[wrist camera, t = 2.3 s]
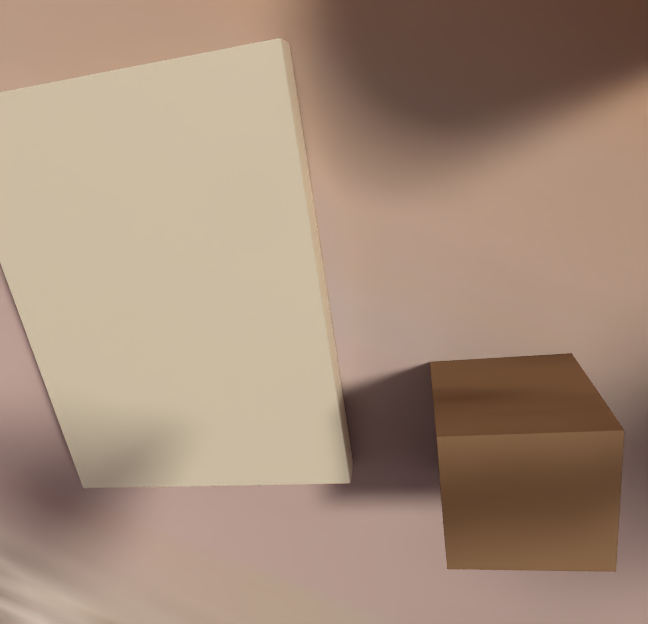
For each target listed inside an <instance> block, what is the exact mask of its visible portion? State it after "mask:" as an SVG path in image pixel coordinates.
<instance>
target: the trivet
mask: <svg viewBox="0 0 648 624" xmlns="http://www.w3.org/2000/svg"><path fill="white" fill-rule="evenodd" d="M0 263H1V266H2V269H3V272H4V274H5V277H6V280H7V282H8V285H9V288H10V291H11V293H12V296H13V299H14V301H15V304H16V307H17V310H18V312H19V315H20V318H21V320H22V323H23V326H24V329H25V331H26V334H27V337H28V339H29V342H30V345H31V348H32V350H33V353H34V356H35V359H36V361H37V364H38V367H39V369H40V372H41V375H42V378H43V380H44V383H45V386H46V388H47V391H48V394H49V397H50V399H51V402H52V405H53V407H54V410H55V413H56V416H57V418H58V421H59V424H60V426H61V429H62V432H63V435H64V437H65V440H66V443H67V446H68V448H69V451H70V454H71V456H72V459H73V462H74V465H75V467H76V470H77V473H78V475H79V478H80V481H81V484H82V486H83V488H124V487H178V486H232V485H285V484H339V483H350V482H351V476H352V470H353V459H352V452H351V446H350V439H349V433H348V426H347V419H346V413H345V406H344V400H343V393H342V387H341V380H340V373H339V367H338V360H337V354H336V347H335V340H334V334H333V327H332V321H331V314H330V307H329V301H328V294H327V288H326V281H325V275H324V268H323V261H322V255H321V248H320V242H319V235H318V228H317V222H316V215H315V209H314V202H313V196H312V189H311V182H310V176H309V169H308V163H307V156H306V149H305V143H304V136H303V130H302V123H301V116H300V110H299V103H298V97H297V90H296V84H295V77H294V70H293V64H292V57H291V51H290V44H289V43H288V42H287V41H285V40H283V39H281V38H278V39H273V40H268V41H262V42H257V43H252V44H247V45H242V46H237V47H231V48H226V49H221V50H216V51H211V52H206V53H201V54H195V55H190V56H185V57H180V58H175V59H170V60H165V61H159V62H154V63H149V64H144V65H139V66H134V67H128V68H123V69H118V70H113V71H108V72H103V73H98V74H92V75H87V76H82V77H77V78H72V79H67V80H62V81H56V82H51V83H46V84H41V85H36V86H31V87H25V88H20V89H15V90H10V91H5V92H0Z"/></svg>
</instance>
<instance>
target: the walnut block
mask: <svg viewBox="0 0 648 624" xmlns="http://www.w3.org/2000/svg"><path fill="white" fill-rule="evenodd" d="M430 367H431V379H432V392H433V404H434V416H435V429H436V441H437V453H438V466H439V478H440V489H441V501H442V513H443V524H444V536H445V548H446V559H447V569H479V570H548V571H616V561H617V545H618V528H619V512H620V495H621V479H622V462H623V446H624V429H623V428H622V426H621V425H620V423H619V422H618V420H617V419H616V417H615V416H614V415H613V413H612V412H611V410H610V409H609V407H608V406H607V404H606V403H605V401H604V400H603V399H602V397H601V396H600V394H599V393H598V391H597V390H596V388H595V387H594V385H593V384H592V382H591V381H590V380H589V378H588V377H587V375H586V374H585V372H584V371H583V369H582V368H581V366H580V365H579V364H578V362H577V361H576V359H575V358H574V356H573V355H572V353H571V354H554V355H537V356H520V357H504V358H487V359H470V360H453V361H437V362H430Z"/></svg>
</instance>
